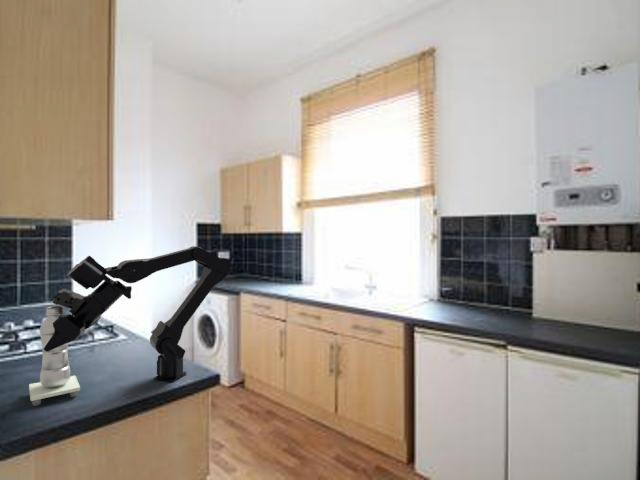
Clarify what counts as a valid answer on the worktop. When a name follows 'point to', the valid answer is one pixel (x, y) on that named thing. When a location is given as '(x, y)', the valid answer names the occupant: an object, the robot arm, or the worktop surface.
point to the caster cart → (53, 390)
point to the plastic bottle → (53, 353)
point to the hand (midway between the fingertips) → (52, 344)
